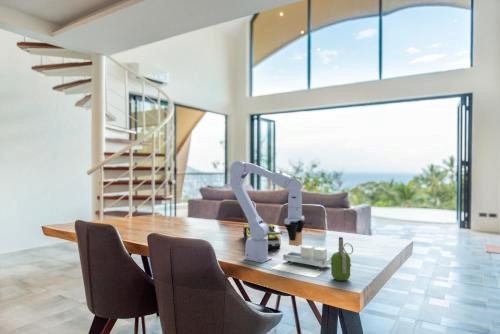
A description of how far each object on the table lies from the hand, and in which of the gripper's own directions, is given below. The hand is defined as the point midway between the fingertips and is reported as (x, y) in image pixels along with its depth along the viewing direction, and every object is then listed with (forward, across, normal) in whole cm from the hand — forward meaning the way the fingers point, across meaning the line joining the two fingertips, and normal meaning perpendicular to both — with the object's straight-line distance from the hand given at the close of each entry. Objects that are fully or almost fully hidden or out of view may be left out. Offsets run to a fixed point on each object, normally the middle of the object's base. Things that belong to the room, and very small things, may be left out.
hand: (294, 239), depth 136 cm
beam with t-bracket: (+9, +3, -6) cm, 11 cm away
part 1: (+7, 0, -6) cm, 9 cm away
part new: (+2, 0, 0) cm, 2 cm away
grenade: (+10, -10, -24) cm, 27 cm away
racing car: (+10, +22, +32) cm, 40 cm away
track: (+10, -5, -6) cm, 12 cm away
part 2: (+7, 0, -11) cm, 13 cm away
